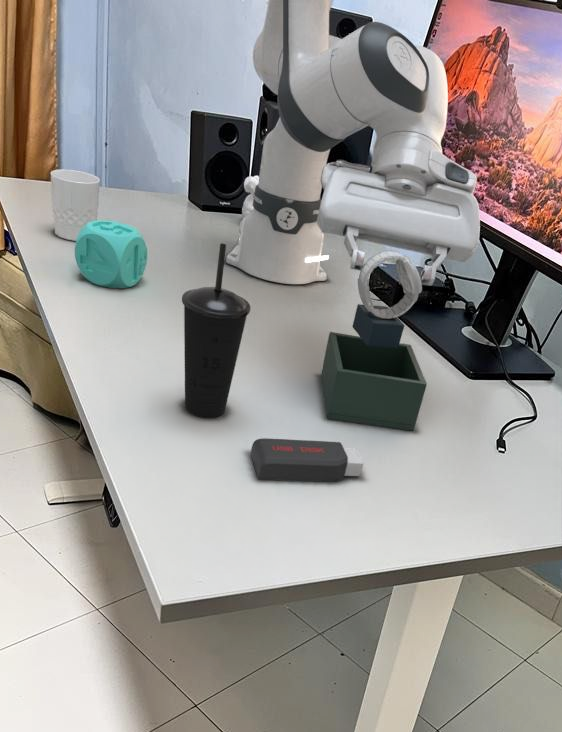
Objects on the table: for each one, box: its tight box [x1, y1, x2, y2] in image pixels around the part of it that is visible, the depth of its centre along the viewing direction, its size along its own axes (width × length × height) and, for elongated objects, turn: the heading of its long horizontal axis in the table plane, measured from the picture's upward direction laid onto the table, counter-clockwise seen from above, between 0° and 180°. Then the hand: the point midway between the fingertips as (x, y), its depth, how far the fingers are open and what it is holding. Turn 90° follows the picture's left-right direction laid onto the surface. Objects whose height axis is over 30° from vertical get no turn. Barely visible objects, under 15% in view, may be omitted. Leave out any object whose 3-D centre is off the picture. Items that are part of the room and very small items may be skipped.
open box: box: [320, 331, 428, 432], centre depth 102 cm, size 13×12×7 cm
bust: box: [241, 175, 259, 219], centre depth 162 cm, size 12×8×11 cm
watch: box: [352, 249, 423, 348], centre depth 96 cm, size 6×8×11 cm
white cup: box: [50, 169, 101, 242], centre depth 133 cm, size 8×8×10 cm
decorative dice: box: [74, 220, 148, 289], centre depth 119 cm, size 8×8×8 cm
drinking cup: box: [181, 242, 252, 419], centre depth 88 cm, size 8×8×20 cm
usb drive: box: [250, 437, 364, 483], centre depth 86 cm, size 5×12×3 cm, turn 106°
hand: (392, 275), depth 94 cm, fingers closed on watch, 7 cm apart
